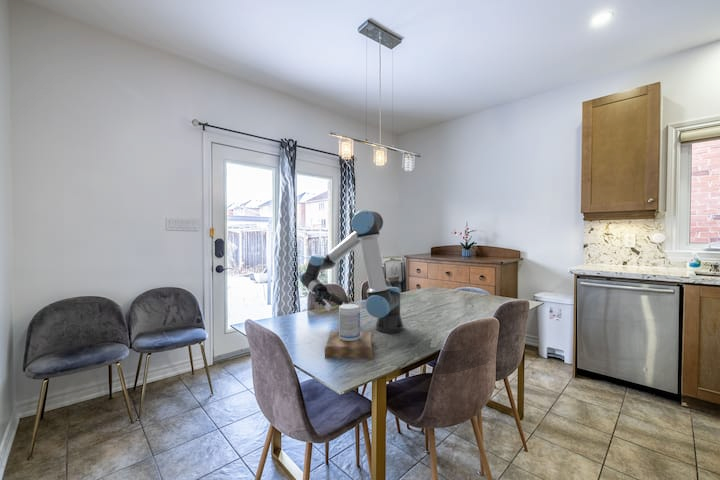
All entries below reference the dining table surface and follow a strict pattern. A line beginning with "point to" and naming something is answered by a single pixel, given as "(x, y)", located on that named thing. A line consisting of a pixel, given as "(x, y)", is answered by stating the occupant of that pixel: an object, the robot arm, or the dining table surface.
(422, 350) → the dining table surface
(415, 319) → the dining table surface
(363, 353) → the wooden square block
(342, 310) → the supplement tub
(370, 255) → the robot arm
